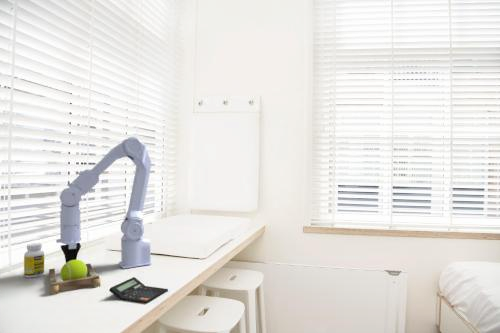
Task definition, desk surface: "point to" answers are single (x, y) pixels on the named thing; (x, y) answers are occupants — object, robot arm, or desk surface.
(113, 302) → the desk surface
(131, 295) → the calculator
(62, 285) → the level stand
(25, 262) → the supplement bottle
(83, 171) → the robot arm
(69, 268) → the tennis ball
